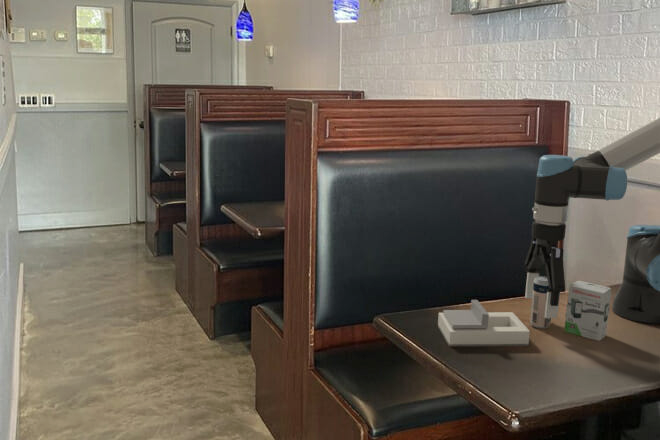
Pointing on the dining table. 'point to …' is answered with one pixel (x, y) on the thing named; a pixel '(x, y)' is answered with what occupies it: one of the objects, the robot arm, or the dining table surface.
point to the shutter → (468, 317)
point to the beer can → (539, 303)
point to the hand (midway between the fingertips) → (540, 307)
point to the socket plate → (487, 332)
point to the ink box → (587, 310)
